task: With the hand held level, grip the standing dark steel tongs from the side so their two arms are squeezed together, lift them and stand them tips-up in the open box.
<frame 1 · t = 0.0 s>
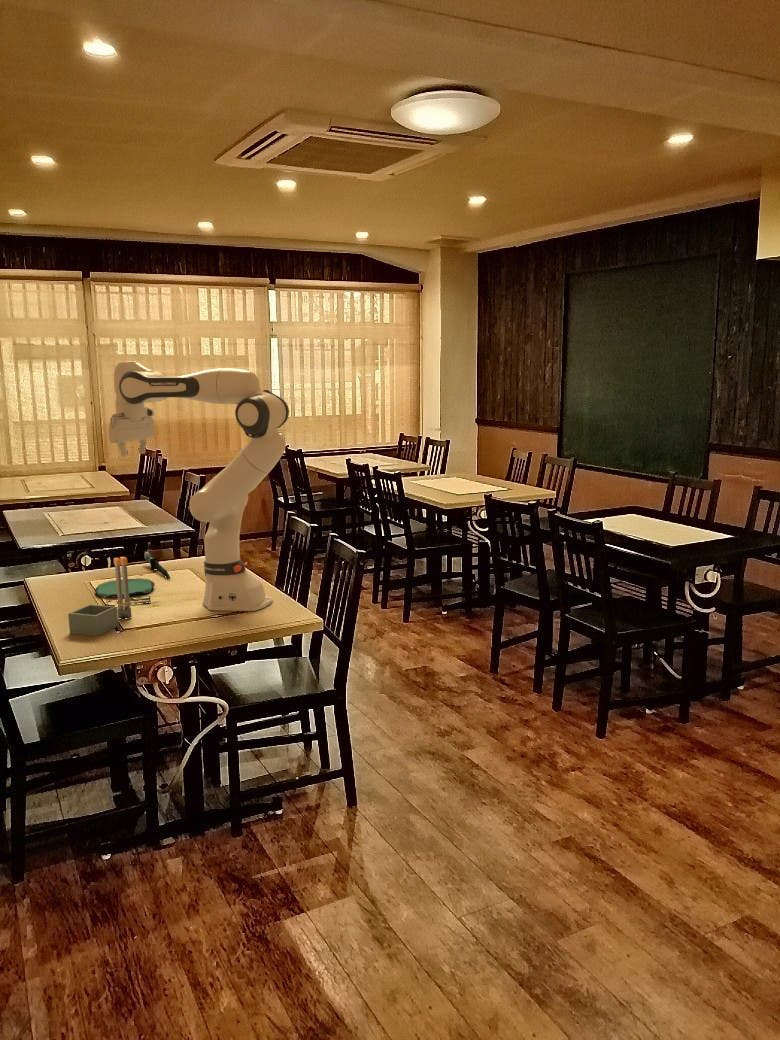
hand: (133, 454, 262), 48 cm above the table, tool pointing down, fingers open, 8 cm apart
knife: (157, 572, 303), on the table
tongs: (124, 618, 246), on the table
green cutting board: (125, 596, 273), on the table
open box: (94, 629, 236), on the table
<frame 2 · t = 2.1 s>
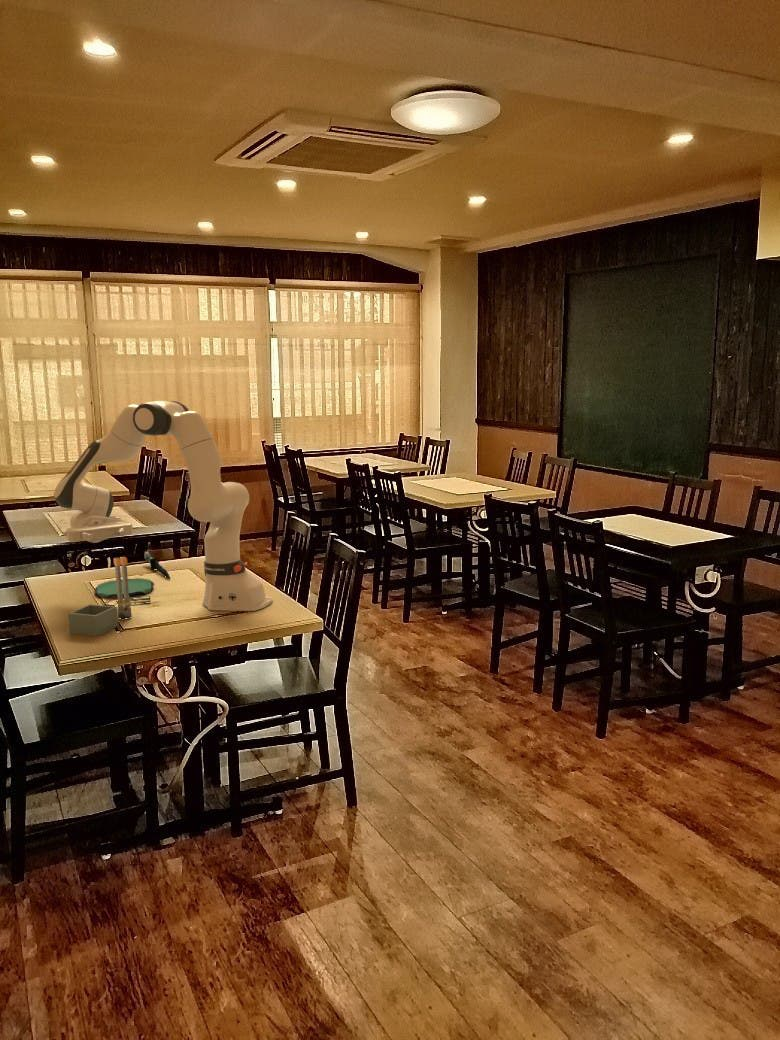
hand: (106, 535, 252), 24 cm above the table, tool horizontal, fingers open, 8 cm apart
nothing on the table moved.
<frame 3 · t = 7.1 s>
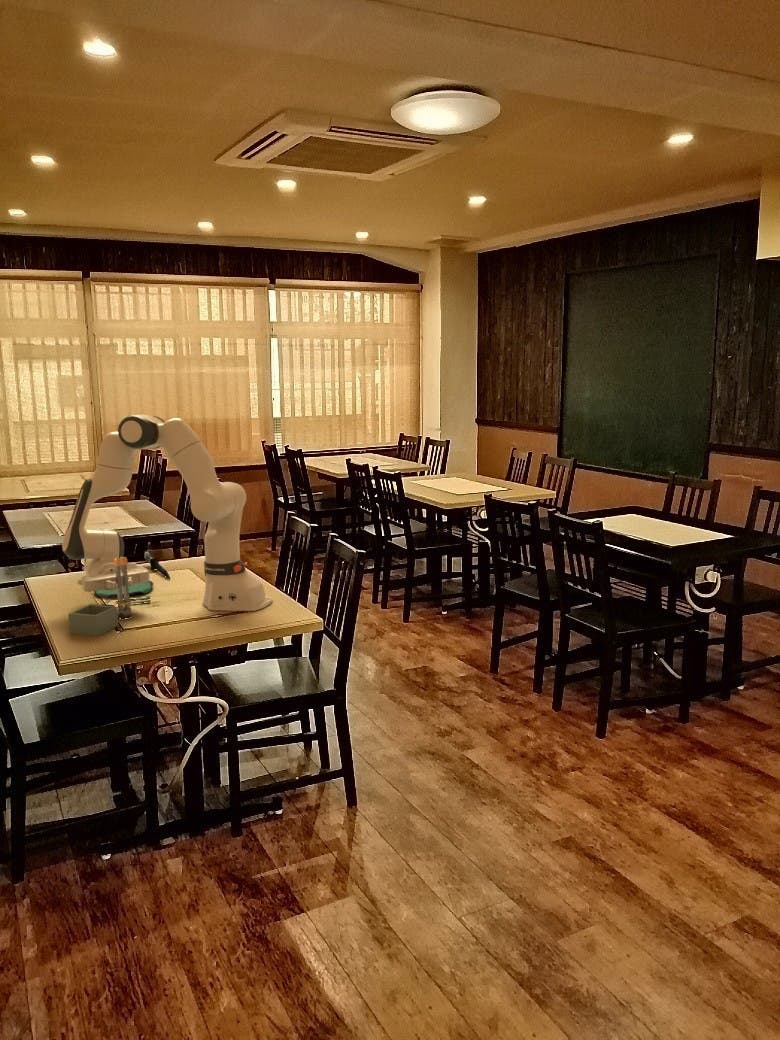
hand: (123, 584, 244), 11 cm above the table, tool horizontal, fingers closed on tongs, 3 cm apart
tongs: (124, 618, 246), on the table, touching gripper
everything else where it was.
when the fingers open (13 cm above the table, at t = 11.9 s): tongs drops 1 cm, resting on open box.
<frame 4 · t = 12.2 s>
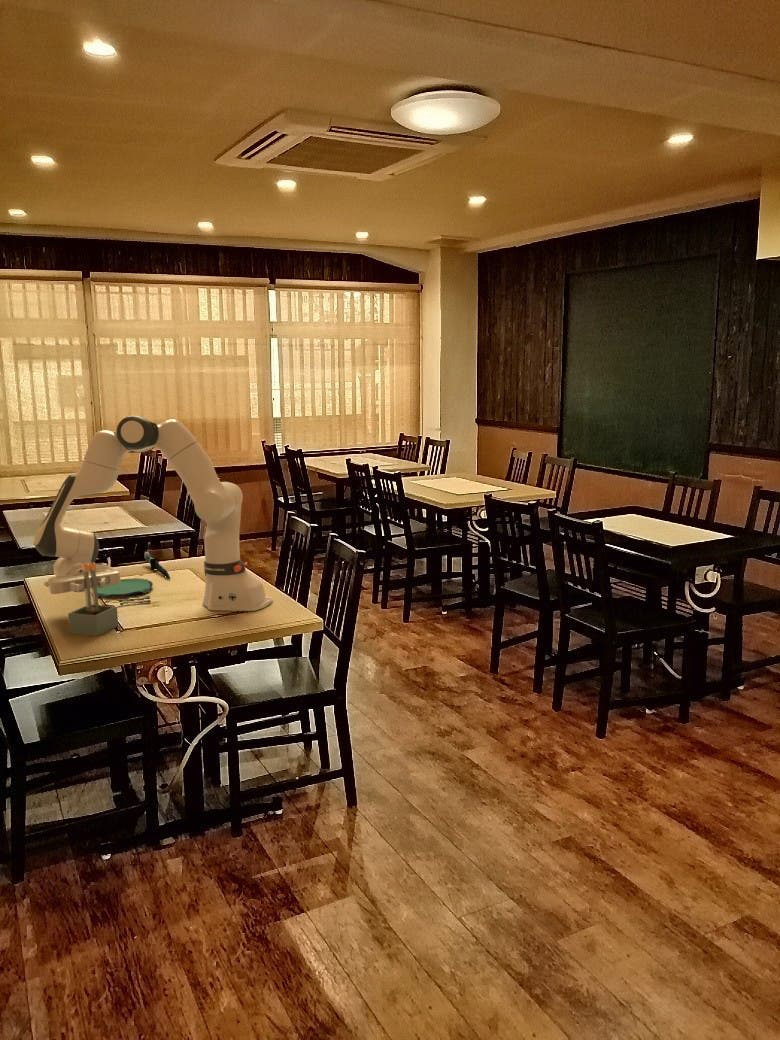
hand: (91, 586, 233), 13 cm above the table, tool horizontal, fingers open, 5 cm apart
tongs: (94, 626, 236), point 1 cm above the table, touching open box
everything else where it was.
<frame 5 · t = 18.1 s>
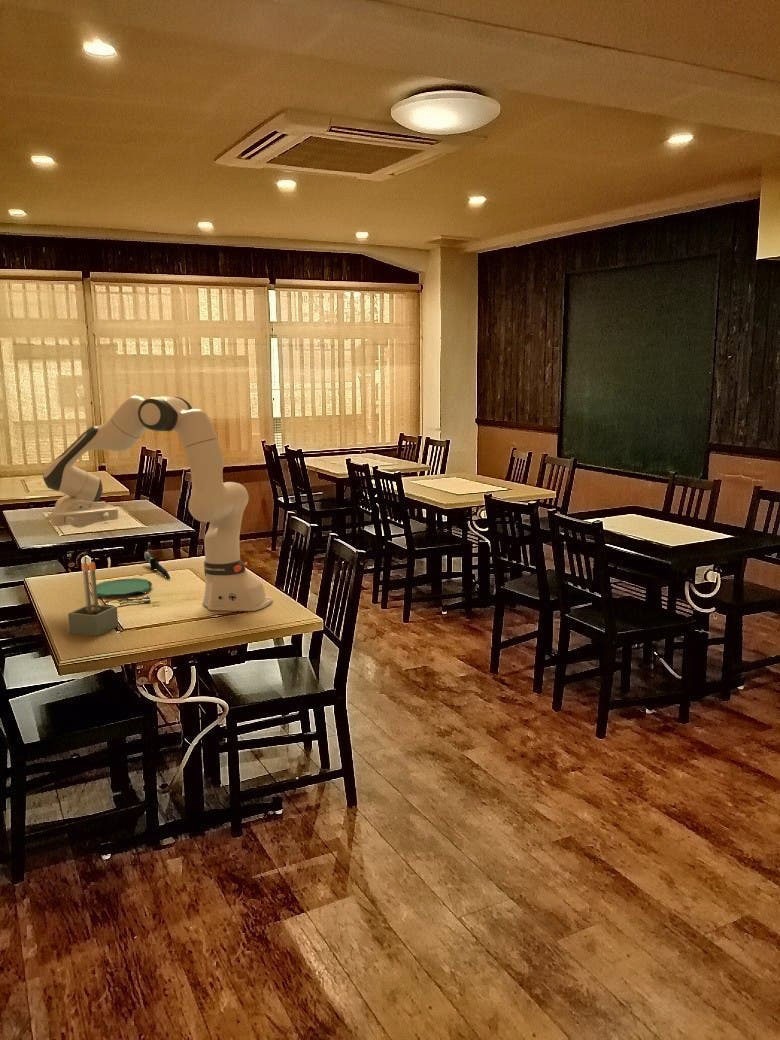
hand: (90, 519, 246), 30 cm above the table, tool horizontal, fingers open, 8 cm apart
nothing on the table moved.
at the end: tongs 0.1 cm off-centre on the open box, point 1.1 cm above the open box's base; tongs tilted 2°; the gripper is holding nothing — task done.
